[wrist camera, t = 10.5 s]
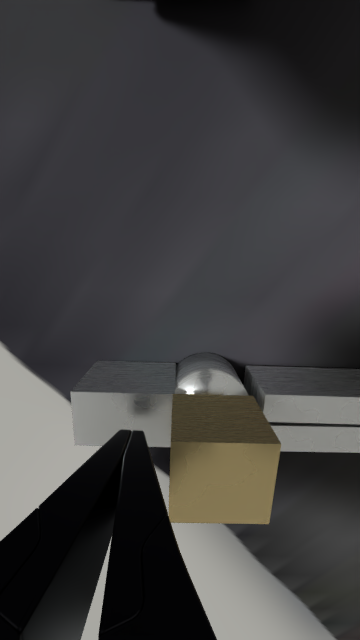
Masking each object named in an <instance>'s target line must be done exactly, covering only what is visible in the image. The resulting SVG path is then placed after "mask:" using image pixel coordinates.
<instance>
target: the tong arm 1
mask: <svg viewBox="0 0 360 640" xmlns="http://www.w3.org/2000/svg"><path fill="white" fill-rule="evenodd" d="M243 386H244V388H245V389H246V391H247V393H248V395H249V396H254V398H255V400H256V402H257V403H258V405H259V407H260V408H261V410H262V412H263V414H264V415H265V417H266V419H267V420H268V422H291V423H327V424H360V369H339V368H309V367H278V366H248V365H246V367H245V376H244V385H243Z"/></svg>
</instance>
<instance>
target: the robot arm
mask: <svg viewBox="0 0 360 640" xmlns="http://www.w3.org/2000/svg"><path fill="white" fill-rule="evenodd" d="M111 537H112V540H111ZM110 540H111V548H110V555H109V562H108V570H107V577H106V584H105V592H104V599H103V606H102V614H101V621H100V628H99V640H217V639H216V636H215V634H214V632H213V630H212V627H211V625H210V622H209V620H208V618H207V616H206V613H205V611H204V608H203V606H202V604H201V601H200V599H199V597H198V595H197V592H196V590H195V588H194V585H193V583H192V580H191V578H190V576H189V573H188V571H187V568H186V566H185V563H184V561H183V558H182V555H181V553H180V550H179V547H178V544H177V541H176V538H175V535H174V532H173V529H172V526H171V522H170V519H169V516H168V512H167V509H166V506H165V502H164V499H163V495H162V492H161V488H160V485H159V482H158V479H157V475H156V471H155V468H154V464H153V461H152V458H151V454H150V451H149V447H148V444H147V441H146V437H145V434H144V431H140V430H133V431H131V430H125V429H121V430H119V431H118V432H117V433H116V434H115V435H114V436H112V437H111V438H110V439H109V440H108V441H107V442H106V443H105V444H104V445H103V446H102V447H101V448H100V449H99V450H98V451H97V452H96V453H95V454H93V455H92V456H91V457H90V458H89V459H88V460H87V461H86V462H85V463H84V464H83V465H82V466H81V467H80V468H79V469H78V470H77V471H75V472H74V473H73V474H72V475H71V476H70V477H69V478H68V479H67V480H66V481H65V482H64V483H63V484H62V485H61V486H59V487H58V488H57V489H56V490H55V491H54V492H53V493H52V494H51V495H50V496H49V497H48V498H47V499H46V500H45V501H44V502H43V503H42V504H40V506H39V509H38V508H36V509H35V510H34V511H33V512H32V513H31V514H30V515H29V516H28V517H27V518H25V519H24V520H23V521H22V522H21V523H20V524H19V525H18V526H17V527H16V528H14V529H13V530H12V531H11V532H10V533H9V534H8V535H7V536H6V537H5V538H4V539H2V540H1V541H0V640H80V639H81V636H82V633H83V630H84V626H85V623H86V619H87V616H88V613H89V609H90V606H91V603H92V599H93V596H94V593H95V590H96V586H97V583H98V580H99V576H100V573H101V570H102V566H103V563H104V560H105V556H106V553H107V550H108V546H109V543H110Z"/></svg>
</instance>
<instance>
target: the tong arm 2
mask: <svg viewBox="0 0 360 640" xmlns="http://www.w3.org/2000/svg"><path fill="white" fill-rule="evenodd" d="M269 424H270V426H271V427H272V429H273V431H274V432H275V434H276V436H277V438H278V439H279V441H280V443H281V449H280V451H291V452H348V453H360V424H327V423H291V422H269Z"/></svg>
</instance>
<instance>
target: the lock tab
mask: <svg viewBox="0 0 360 640" xmlns="http://www.w3.org/2000/svg"><path fill="white" fill-rule="evenodd" d="M280 449H281V443H280V441H279V439H278V438H277V436H276V434H275V432H274V431H273V429H272V427H271V426H270V424H269V422H268V420H267V419H266V417H265V415H264V414H263V412H262V410H261V408H260V407H259V405H258V403H257V402H256V400H255V398H254V396H241V395H201V394H173V398H172V423H171V450H170V486H169V519H170V522H173V523H233V524H269V521H270V514H271V508H272V501H273V495H274V488H275V482H276V475H277V469H278V462H279V456H280Z"/></svg>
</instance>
